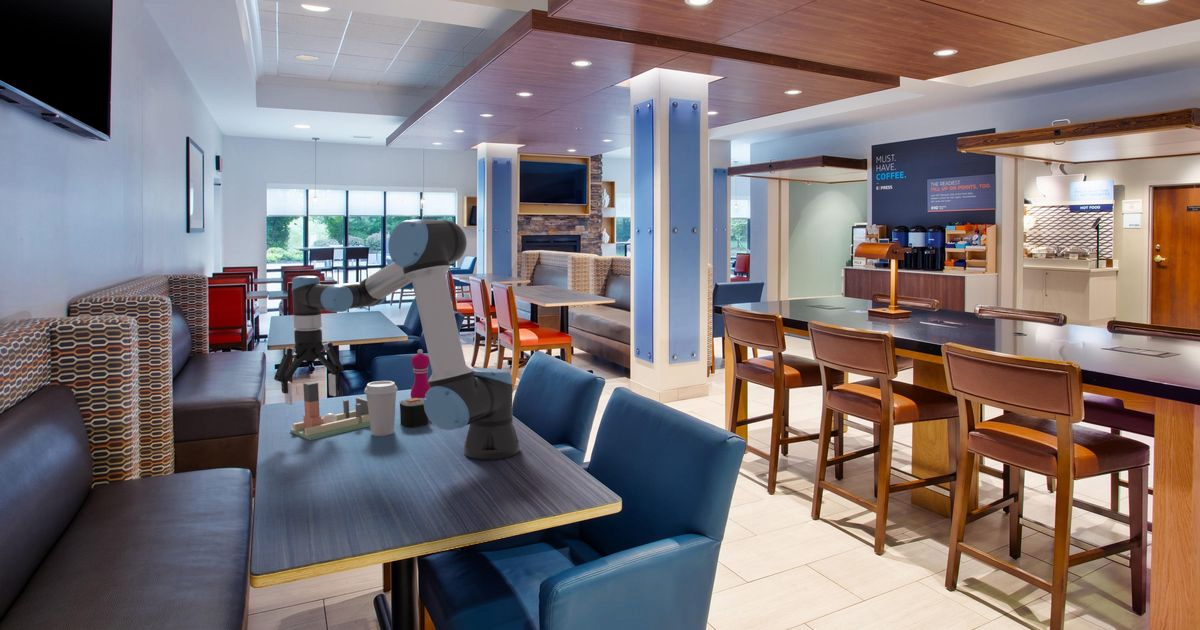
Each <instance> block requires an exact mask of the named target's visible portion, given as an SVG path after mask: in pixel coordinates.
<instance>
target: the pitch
mask: <svg viewBox="0 0 1200 630" xmlns="http://www.w3.org/2000/svg"><path fill="white" fill-rule="evenodd" d="M349 401H350V400H348V399H343V400H342V402H343V403H342V404H343V405H342V406H343V412H342V413H337V414H335V415H336V417H337V421H335V422H331V423H326V424H324V423H323V417H324V416H323V417H322V416H321V420H322V425H317V426H313V427H308V428H305V429H304V420H303V421H300V422H295V423H292V428H290V429H289V430H290V433H291V434H294V435H296V436H299V437H301V438H304V439H306V440H309V441H314V440H318V439H322V438H325V437H330V436H334V435H339V434H342V433H347V432H352V431H356V430H359V429H365V428H368V427H370V419H369V412H368V404H367V398H363V397H355V410H350V403H349Z"/></svg>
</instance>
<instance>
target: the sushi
mask: <svg viewBox="0 0 1200 630" xmlns="http://www.w3.org/2000/svg"><path fill="white" fill-rule="evenodd" d="M398 403H399V412H400V413H399V415H400V421H399V422H400V426H402V427H404V428H408V429H410V428H418V427H424V426H428V424H429V418H428V417H427V415H426V413H425V410H424V398H423V399H422V398H419V399H418V398H413V399H412V398H411V397H410V398H409V399H408V398H407V399H406V398H405V399H404V400H401V401H399V402H398Z"/></svg>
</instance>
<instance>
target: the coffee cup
mask: <svg viewBox="0 0 1200 630" xmlns="http://www.w3.org/2000/svg"><path fill="white" fill-rule="evenodd" d="M398 391H399V388H398V387H397V385H396V384H395V381H392V380H376V381H371V382H368V383H367V384H366V387H365V388H364V390H363V392H364V394H365V396H366V399H367V404H368V412H369V419H370V426H369V427H370V433H371V435H372V436H375V437H383V436H390V435H392V434H394V432H395V417H396V401H397V400H396V399H397V392H398Z"/></svg>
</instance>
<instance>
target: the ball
mask: <svg viewBox="0 0 1200 630" xmlns="http://www.w3.org/2000/svg"><path fill="white" fill-rule="evenodd" d="M335 421H337V417H336V414H335V413H332V412H328V413H326V414H325V415H324V416H323V423H324V424H326V423H331V422H335Z"/></svg>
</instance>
